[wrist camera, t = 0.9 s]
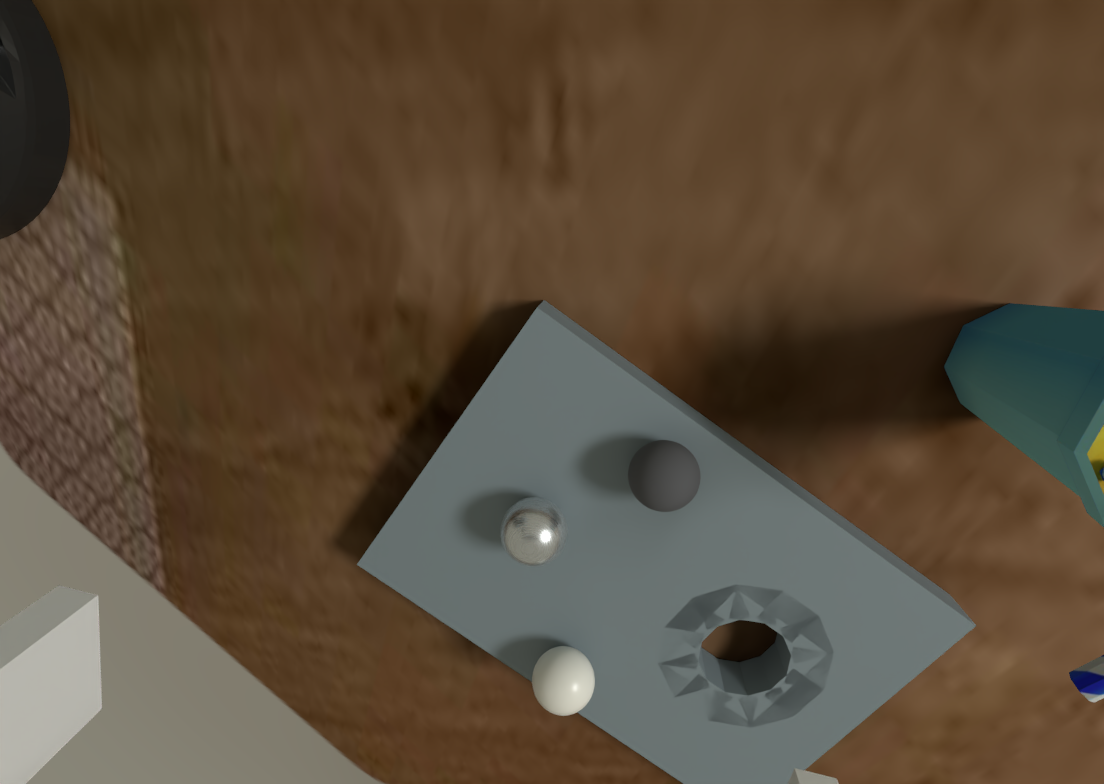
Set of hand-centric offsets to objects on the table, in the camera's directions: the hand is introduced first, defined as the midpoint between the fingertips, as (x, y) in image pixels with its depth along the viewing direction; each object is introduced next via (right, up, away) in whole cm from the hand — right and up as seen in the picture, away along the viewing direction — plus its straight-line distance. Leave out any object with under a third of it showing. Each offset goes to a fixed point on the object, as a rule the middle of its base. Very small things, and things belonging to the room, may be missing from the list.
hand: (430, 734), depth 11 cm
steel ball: (+1, 0, +17) cm, 17 cm away
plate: (+8, -3, +22) cm, 23 cm away
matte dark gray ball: (+7, +3, +16) cm, 18 cm away
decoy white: (+3, -8, +19) cm, 21 cm away
